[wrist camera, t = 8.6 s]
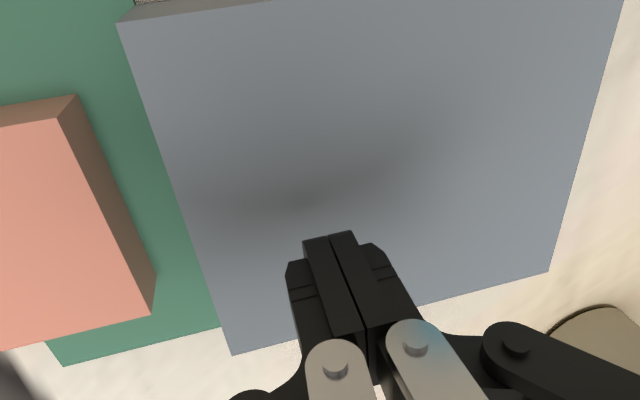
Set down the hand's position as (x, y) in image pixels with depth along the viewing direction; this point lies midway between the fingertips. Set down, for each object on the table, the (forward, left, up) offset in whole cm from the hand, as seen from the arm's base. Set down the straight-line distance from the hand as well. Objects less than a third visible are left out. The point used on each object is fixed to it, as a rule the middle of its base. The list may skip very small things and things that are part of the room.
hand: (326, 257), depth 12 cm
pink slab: (0, -10, -6) cm, 12 cm away
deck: (0, +4, -7) cm, 8 cm away
